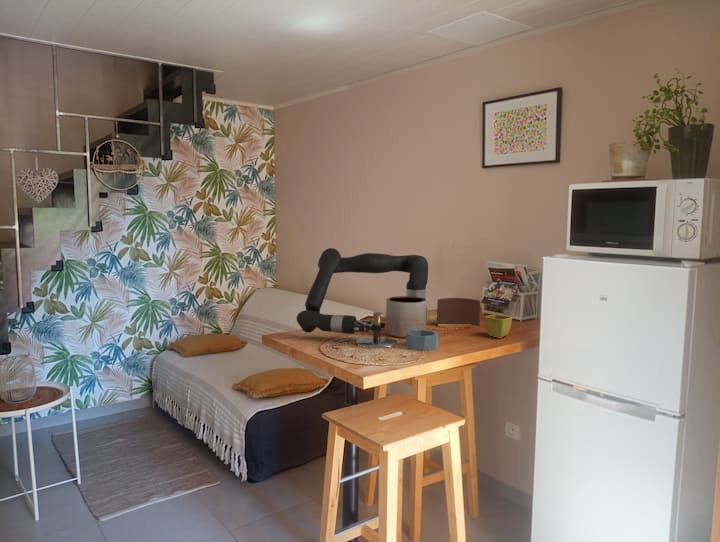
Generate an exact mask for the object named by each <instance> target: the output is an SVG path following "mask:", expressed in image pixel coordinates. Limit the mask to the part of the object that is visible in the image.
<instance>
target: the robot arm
mask: <svg viewBox="0 0 720 542" xmlns="http://www.w3.org/2000/svg"><path fill="white" fill-rule="evenodd" d="M341 255H342V254H341V253H340V251H339V250H337V249H336V248H332V247H330V248H329V247H328V248H326V249H325V250H324V251H322V253H321V254H320V257H319V258H318V262H317V267H318V272H317V274H316V277H315V280H314V281H313V283H312V285H311V287H310V290H309V292H308V295H307V297H306V300H305V304H304V305H305V306H304V307H305V310H302V311H299V312H298V313H297V315H296V322H297V323H298V325H299V327H300V328H301V329H302V330H303V332H305V333H312V332H314V331H315V330H316V328H318V330H320V331H323V332H329V333H330V332H331V333H338V334H348V335H354V334H355V333H358V332H359V333H369V332H373V331H382V329H386V322H381V326H378V325H373V319H366V318H364V319H360V320H357V317H356V316H355V315H351V314H350V315H348V314H325V313H321V308H322V306H323V303H324V301H325V297H326V294H327V290H328V288H329V285H330V282H331V279H332V277H333V275H334V274H338V273H339V274H341V273H360V274H361V273H365V274H384V273H385V274H386V273H390V272H402V273H409V279H408V281H407V282H406V286H405V287H406V290H405V291H406V292H405V293H406V296H411V297H420V298H424V299H426V298H427V295H426V293H427V290H426V289H427V284H428V279H429V263H428V260H427V258H426V257H424V256H422V255H418V254H408V255H407V254H406V255H392V254H385V253H377V252H376V253H373V252H371V253H369V252H368V253H367V252H366V253H361V254H357V255H354V256H353V255H352V256H349V257H348V256H347V257H342V256H341ZM426 300H427V299H426ZM426 323H427V324H428V304H426Z"/></svg>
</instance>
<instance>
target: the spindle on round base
mask: <svg viewBox="0 0 720 542" xmlns="http://www.w3.org/2000/svg"><path fill="white" fill-rule="evenodd" d="M372 315H373V317H372V320H373V323H372V325H378V326H381V323H382V319H381V317H382V313H381V312H378V311H377V312H376V311H375V312H373V314H372ZM381 331H382V330H381ZM381 331H372V337H363V338H359V339H357V340H356V341H355V344H356V343H357V344H359V345H361V346H365V347H371V348H385V349H390V348H389V347H392V348H395V347H397V346H398V341H397V340H396V339H393V338H388V337H381ZM396 345H397V346H396ZM394 346H395V347H394ZM371 348H370V349H371Z"/></svg>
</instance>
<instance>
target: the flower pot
mask: <svg viewBox="0 0 720 542" xmlns="http://www.w3.org/2000/svg"><path fill="white" fill-rule="evenodd" d="M484 318H485V319H484V321H485V330H486V332H487V334H488V336H489V335H491V336H497V337H502V336H505V335H507V336H508V334H509V333H510V330H511V326H512V322H513V316H508V315H502V314H496V313H495V314H494V313H493V314H490V315H487V316H485V317H484Z"/></svg>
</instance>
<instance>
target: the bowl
mask: <svg viewBox="0 0 720 542" xmlns="http://www.w3.org/2000/svg"><path fill="white" fill-rule="evenodd" d="M439 338H440V333H439V332H437V331H434V330H429V329H426V330H410V331H408V332H407V333H406V338H405V347H406V346H407V347H406V348H408V347H409V348H408V349H410V348H411V349H410V350H414V349H415V351H423V350H424V352H425V351H433V350H434V351H435V350H437V349H438V348H439V345H440V344H439V342H440V341H439V340H440V339H439Z"/></svg>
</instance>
